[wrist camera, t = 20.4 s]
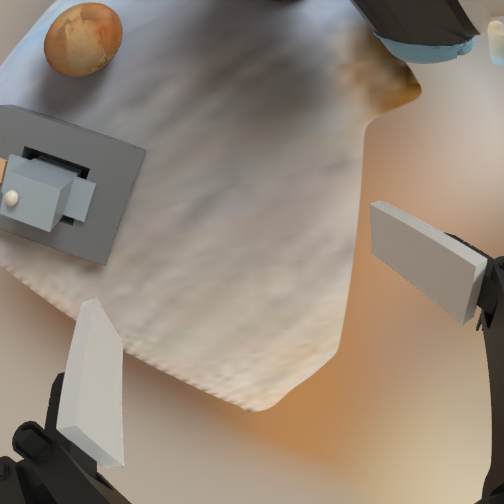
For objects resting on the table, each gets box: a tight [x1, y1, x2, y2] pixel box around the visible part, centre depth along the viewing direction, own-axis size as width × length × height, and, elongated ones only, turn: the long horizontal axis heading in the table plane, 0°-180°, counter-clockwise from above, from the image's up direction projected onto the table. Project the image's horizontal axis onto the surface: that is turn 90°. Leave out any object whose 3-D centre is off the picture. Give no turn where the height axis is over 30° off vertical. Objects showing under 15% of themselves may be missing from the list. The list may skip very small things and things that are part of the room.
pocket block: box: [0, 105, 146, 266], centre depth 34 cm, size 22×16×5 cm
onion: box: [44, 3, 122, 77], centre depth 26 cm, size 10×10×10 cm
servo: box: [0, 154, 97, 232], centre depth 31 cm, size 13×5×12 cm, turn 63°
